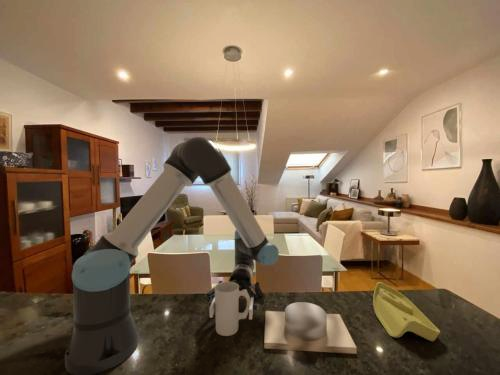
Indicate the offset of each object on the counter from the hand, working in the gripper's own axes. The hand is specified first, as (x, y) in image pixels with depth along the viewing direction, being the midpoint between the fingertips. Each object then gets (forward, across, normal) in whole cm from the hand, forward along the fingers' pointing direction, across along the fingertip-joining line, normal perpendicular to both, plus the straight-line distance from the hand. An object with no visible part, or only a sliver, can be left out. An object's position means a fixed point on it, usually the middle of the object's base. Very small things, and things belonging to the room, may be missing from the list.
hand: (230, 313), depth 61 cm
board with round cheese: (-4, -20, -6) cm, 21 cm away
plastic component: (-12, -49, -7) cm, 51 cm away
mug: (-4, 0, -7) cm, 8 cm away
